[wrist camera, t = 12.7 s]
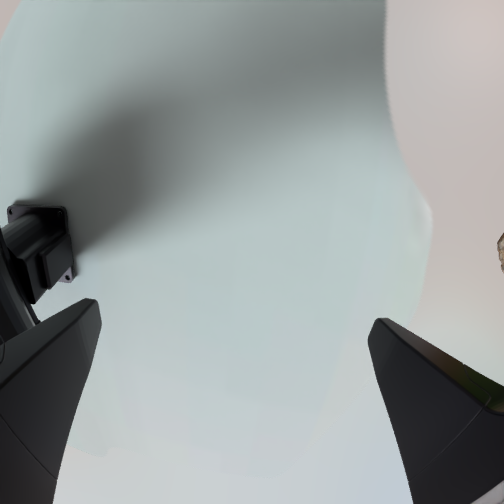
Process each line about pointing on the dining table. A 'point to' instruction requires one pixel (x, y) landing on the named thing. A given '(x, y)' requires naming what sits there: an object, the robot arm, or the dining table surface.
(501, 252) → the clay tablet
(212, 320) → the dining table surface
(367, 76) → the dining table surface
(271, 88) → the dining table surface
